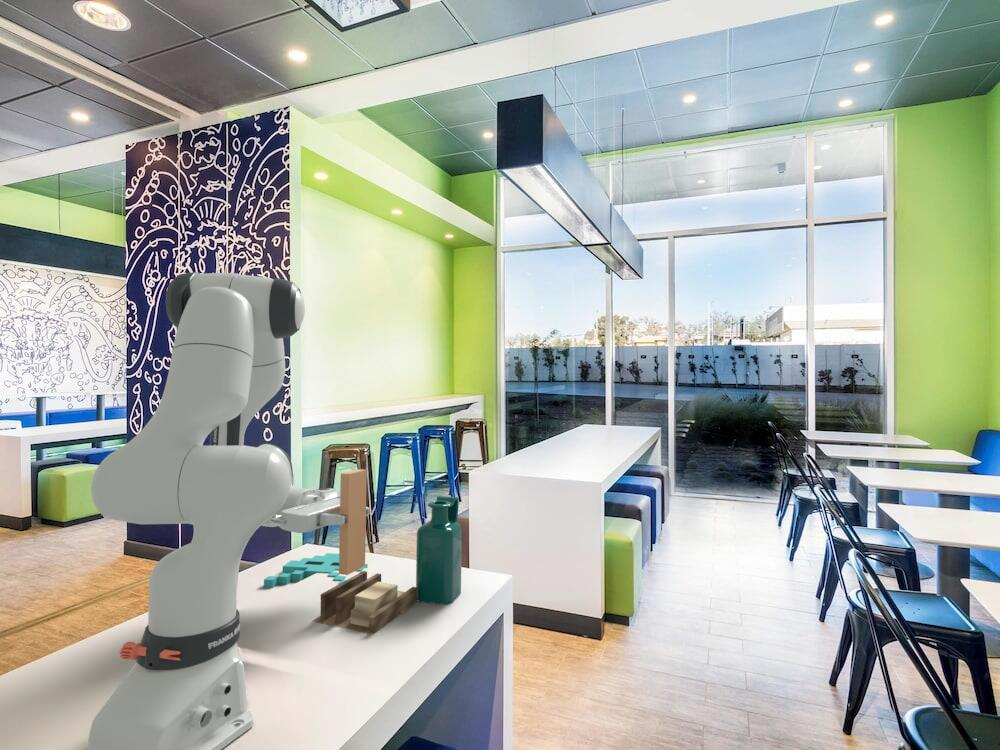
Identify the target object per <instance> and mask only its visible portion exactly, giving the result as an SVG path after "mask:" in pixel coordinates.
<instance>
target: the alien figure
mask: <svg viewBox="0 0 1000 750" xmlns="http://www.w3.org/2000/svg"><path fill="white" fill-rule="evenodd" d="M364 569H368V563H365V566H364V567H362V568H360V569H358V570H356V571H355V572H362V571H364ZM336 571H338V572H336ZM316 574H327V577H328V578H329V577H330V578H333V579H332V581H333V582H334V581H335V582H336V581H337V582H338V584H337V585H339V584H340V583H342V582H344V581H346V580H347V579H346V577H347V575H345V576H344V575H340V574H339V553H334V552H333V553H330V552H327V553H325V554H324V555H314V556H313V557H312V558H311V557H303V558H301V559H300V560H295V559H293V560H289V561H288V562H287V563H285V564H284V565H283V566H282V573H281V574H279V575H278V576H275V575H268V576H266V577H265V578H264V579H263V588H270V589H271V588H272V589H273V588H275V587H276V586H277V585H288V584H290V583H291V582H301V581H303V580H304V579H307V578H310V577H312V576H314V575H316Z"/></svg>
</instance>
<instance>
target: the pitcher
mask: <svg viewBox="0 0 1000 750" xmlns="http://www.w3.org/2000/svg"><path fill="white" fill-rule="evenodd" d="M459 502H460V499H459V497H458V496H457V497H455V496H443V495H437V496H436V500H433V501H429V502H428V503H427V507H429V509H430V508H431V517H430V520H428V521H427V522H424V523H423V524H422V525H420V526H419V527H418V529H417V531H416V557H415V559H416V564H415V565H416V566H415V567H416V570H415V574H416V575H415V587H417V602H419V603H420V602H421V603H427V604H433V605H434V604H435V605H444V606H445V605H450V604H453V603H454V602H455V601H456V600H457V598H459V596H461V594H462V548H463V547H462V545H463V543H462V541H463V540H462V539H463V538H462V537H463V536H462V533H463V531H462V530H463V529H462V526H461V524H460V523H459V522H457V521H458V517H459V505H460V504H459Z"/></svg>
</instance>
